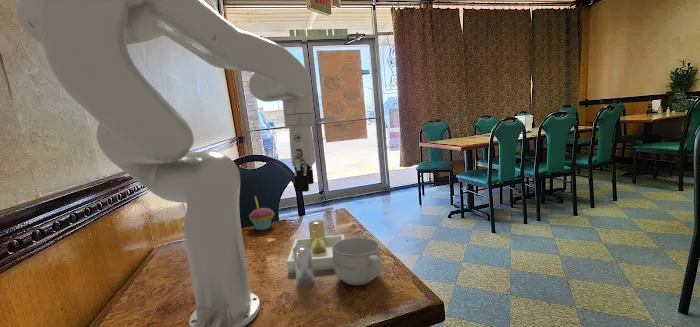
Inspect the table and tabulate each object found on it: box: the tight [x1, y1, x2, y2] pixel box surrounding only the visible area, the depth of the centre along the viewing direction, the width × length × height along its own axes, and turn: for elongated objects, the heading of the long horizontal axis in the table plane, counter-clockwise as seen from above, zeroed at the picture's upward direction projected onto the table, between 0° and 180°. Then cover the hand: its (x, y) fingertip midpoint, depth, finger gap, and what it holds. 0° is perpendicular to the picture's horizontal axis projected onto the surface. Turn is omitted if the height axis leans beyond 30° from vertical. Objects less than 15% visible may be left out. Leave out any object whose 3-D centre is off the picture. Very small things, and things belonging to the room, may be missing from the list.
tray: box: [286, 234, 345, 274], centre depth 80 cm, size 14×14×3 cm
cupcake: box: [248, 194, 275, 231], centre depth 107 cm, size 9×8×12 cm
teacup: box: [332, 236, 383, 286], centre depth 66 cm, size 14×11×8 cm
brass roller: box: [308, 219, 326, 254], centre depth 82 cm, size 4×4×8 cm
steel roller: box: [293, 245, 315, 288], centre depth 68 cm, size 4×4×8 cm
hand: (305, 187), depth 79 cm, fingers open, 9 cm apart
